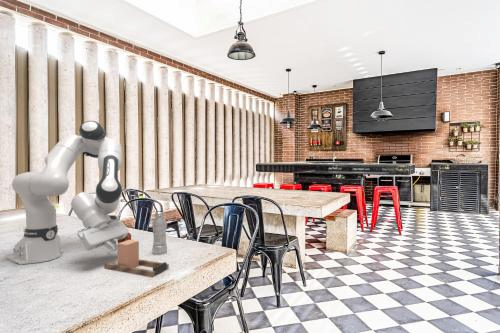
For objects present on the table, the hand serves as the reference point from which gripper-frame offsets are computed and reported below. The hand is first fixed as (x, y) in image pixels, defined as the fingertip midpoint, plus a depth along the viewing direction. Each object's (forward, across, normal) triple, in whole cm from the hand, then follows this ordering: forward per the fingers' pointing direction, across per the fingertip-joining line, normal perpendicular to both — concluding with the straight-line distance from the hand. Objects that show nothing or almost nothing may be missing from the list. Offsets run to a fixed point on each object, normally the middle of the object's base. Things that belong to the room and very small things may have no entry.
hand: (116, 249), depth 122 cm
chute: (+13, -2, -4) cm, 14 cm away
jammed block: (+10, -2, -2) cm, 10 cm away
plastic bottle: (+10, +18, +1) cm, 21 cm away
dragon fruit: (-8, +23, +20) cm, 31 cm away
